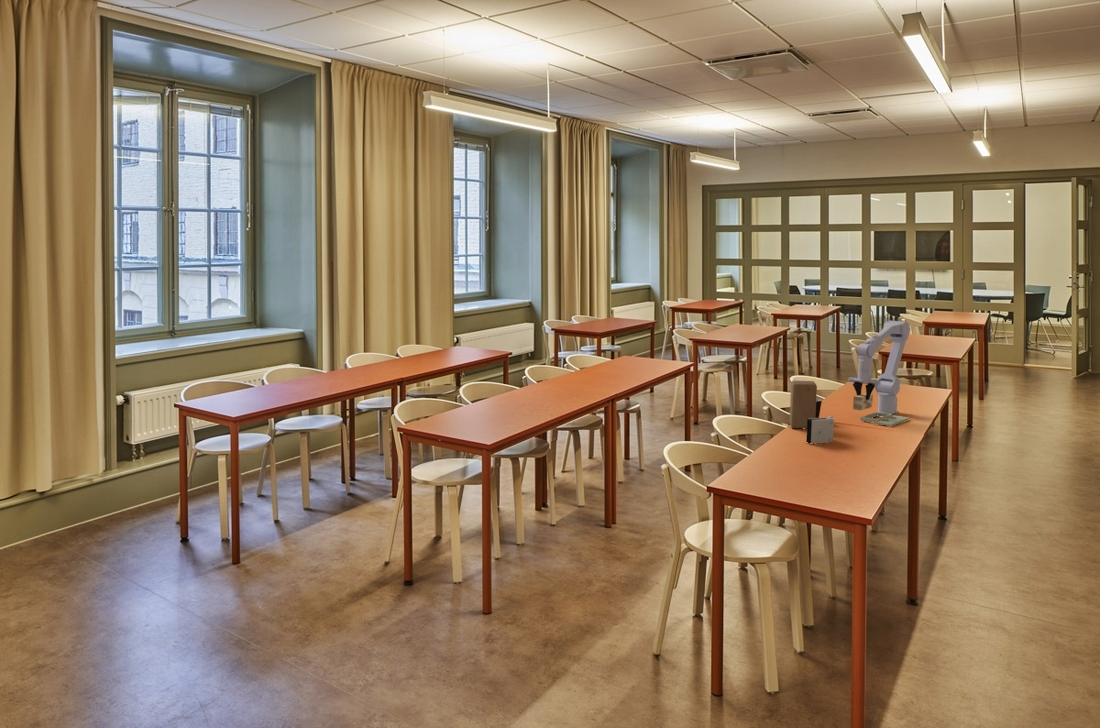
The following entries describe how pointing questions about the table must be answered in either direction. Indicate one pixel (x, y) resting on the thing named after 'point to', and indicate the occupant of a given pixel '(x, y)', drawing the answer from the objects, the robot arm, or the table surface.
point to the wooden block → (802, 403)
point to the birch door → (862, 402)
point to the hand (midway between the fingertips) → (863, 399)
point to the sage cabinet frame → (884, 419)
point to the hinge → (820, 430)
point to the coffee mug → (818, 407)
